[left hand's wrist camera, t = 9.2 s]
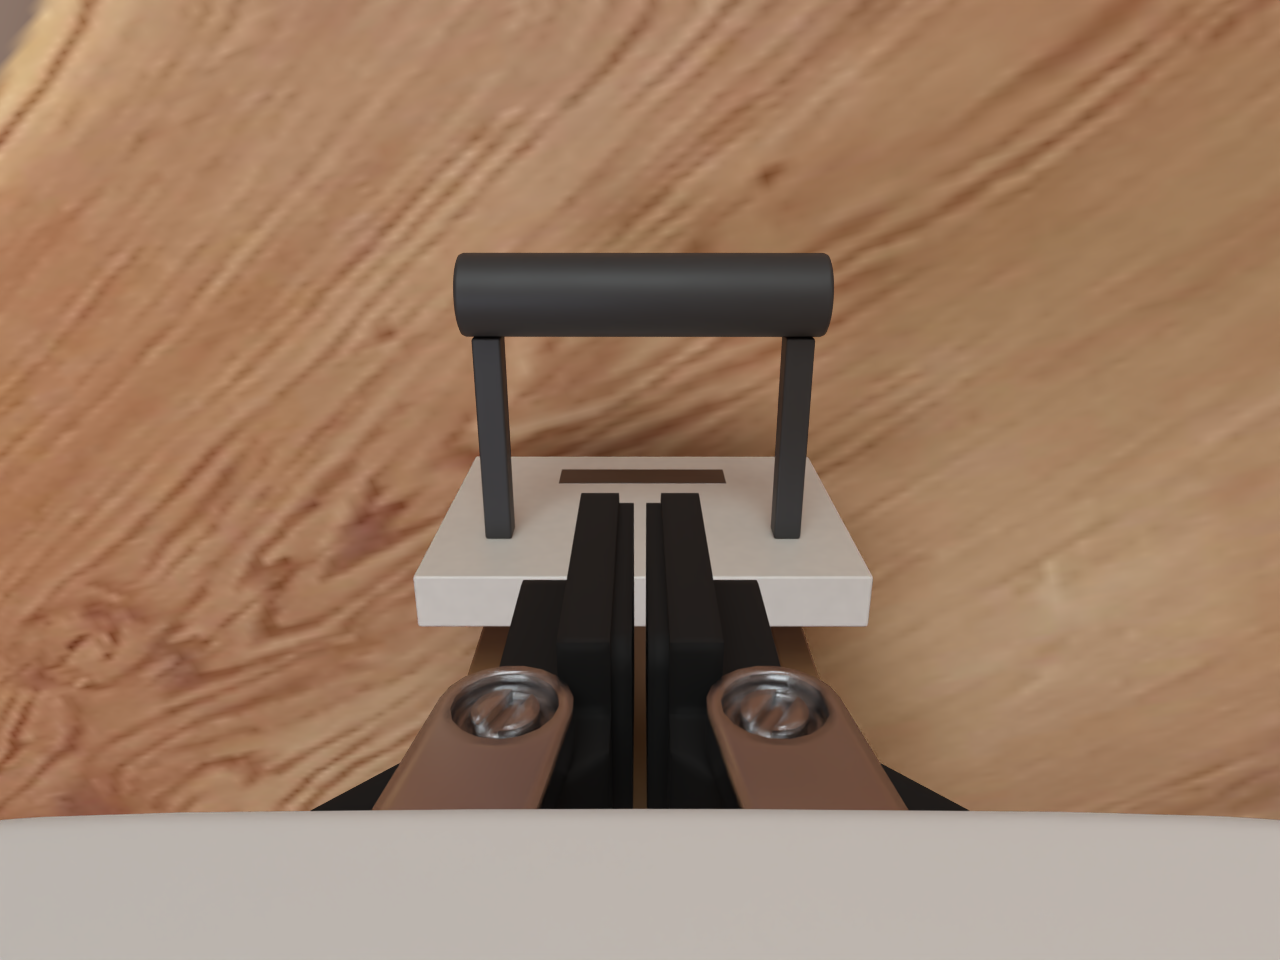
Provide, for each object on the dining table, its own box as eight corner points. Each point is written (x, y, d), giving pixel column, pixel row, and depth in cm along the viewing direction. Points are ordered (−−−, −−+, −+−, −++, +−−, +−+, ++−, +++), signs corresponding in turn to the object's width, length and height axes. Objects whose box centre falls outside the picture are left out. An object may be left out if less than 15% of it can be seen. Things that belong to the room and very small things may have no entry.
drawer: (459, 228, 22) (379, 267, 15) (826, 229, 22) (908, 267, 15) (502, 830, 30) (462, 1037, 23) (779, 830, 30) (822, 1037, 23)
